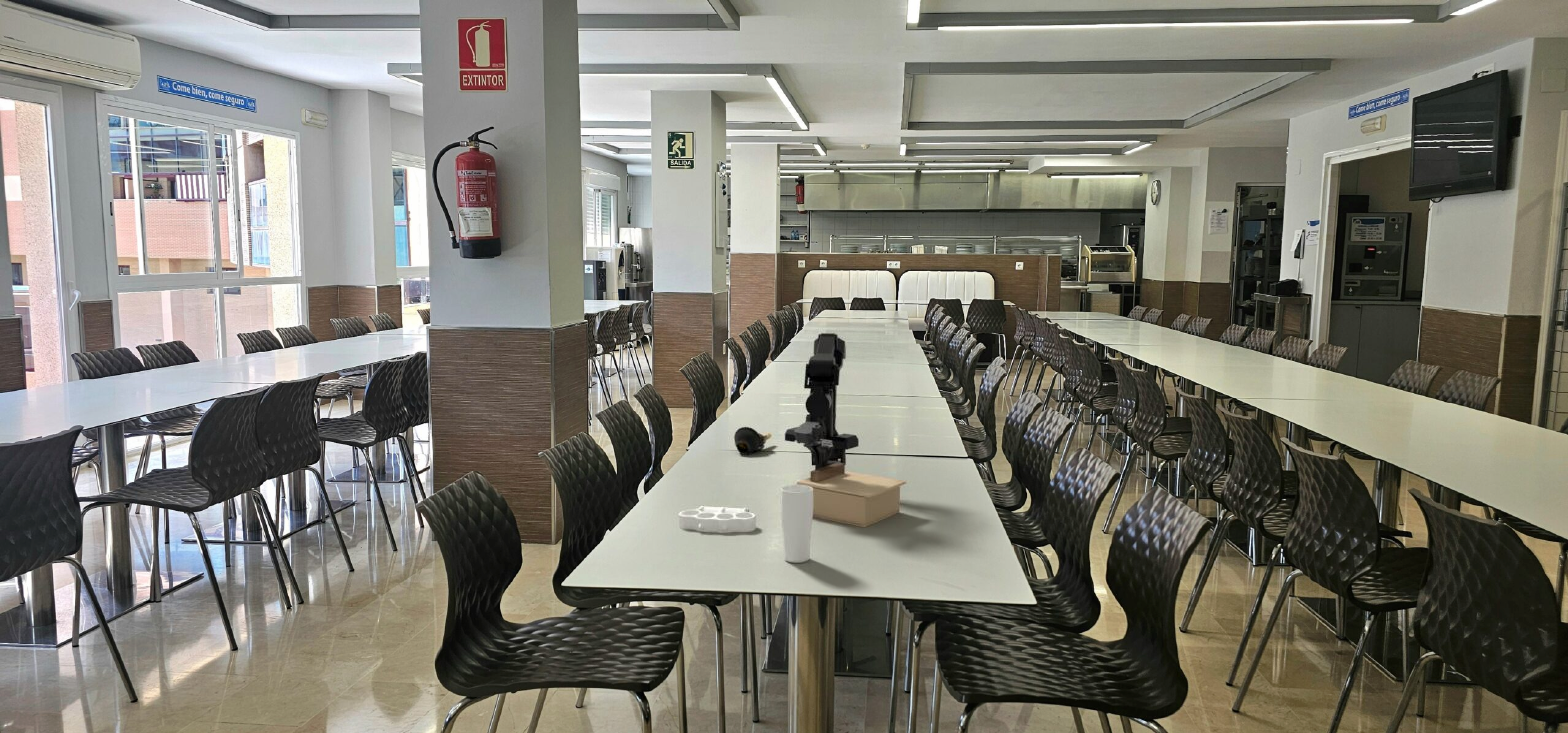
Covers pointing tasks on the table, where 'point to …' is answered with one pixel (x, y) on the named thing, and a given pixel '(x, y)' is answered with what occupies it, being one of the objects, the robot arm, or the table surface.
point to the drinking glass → (797, 521)
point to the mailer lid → (849, 481)
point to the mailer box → (855, 506)
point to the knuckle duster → (718, 519)
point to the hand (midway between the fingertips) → (820, 472)
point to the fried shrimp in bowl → (749, 440)
